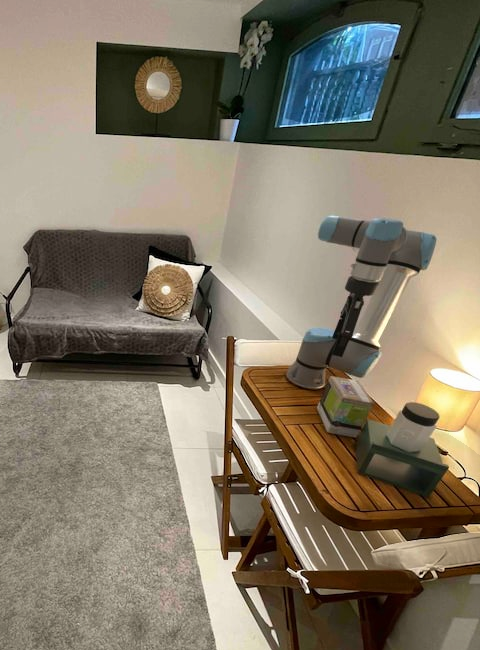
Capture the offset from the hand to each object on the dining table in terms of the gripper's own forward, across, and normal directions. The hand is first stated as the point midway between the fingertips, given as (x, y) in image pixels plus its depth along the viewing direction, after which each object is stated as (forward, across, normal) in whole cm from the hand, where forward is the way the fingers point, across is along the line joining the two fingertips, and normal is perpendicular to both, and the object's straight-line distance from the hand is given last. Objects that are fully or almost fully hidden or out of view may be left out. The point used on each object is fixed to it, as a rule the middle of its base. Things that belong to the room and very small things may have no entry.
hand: (336, 346), depth 115 cm
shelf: (+32, +7, +25) cm, 41 cm away
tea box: (+32, -10, +10) cm, 35 cm away
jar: (+22, +7, +25) cm, 34 cm away
